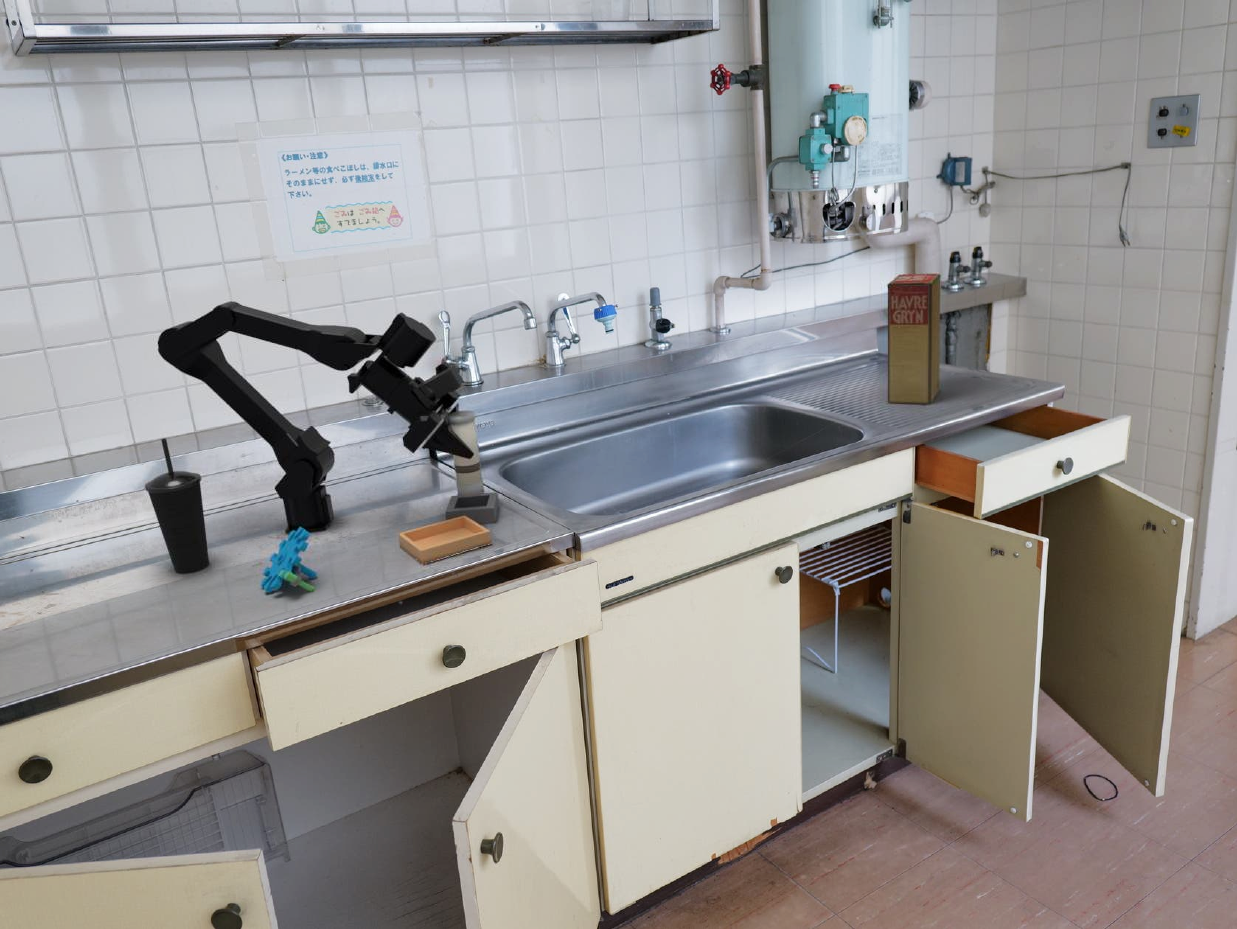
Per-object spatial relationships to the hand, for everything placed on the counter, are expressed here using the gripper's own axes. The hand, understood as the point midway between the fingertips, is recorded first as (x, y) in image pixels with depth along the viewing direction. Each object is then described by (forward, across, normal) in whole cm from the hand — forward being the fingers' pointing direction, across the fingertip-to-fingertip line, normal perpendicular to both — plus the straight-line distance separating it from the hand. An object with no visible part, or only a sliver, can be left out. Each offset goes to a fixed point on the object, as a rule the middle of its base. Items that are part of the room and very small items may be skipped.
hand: (474, 452), depth 157 cm
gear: (-9, -24, +24) cm, 35 cm away
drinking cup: (-22, -15, +37) cm, 45 cm away
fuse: (+4, 0, +6) cm, 7 cm away
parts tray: (+5, -12, +10) cm, 17 cm away
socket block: (+7, 0, +9) cm, 11 cm away
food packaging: (+66, +58, -51) cm, 102 cm away
